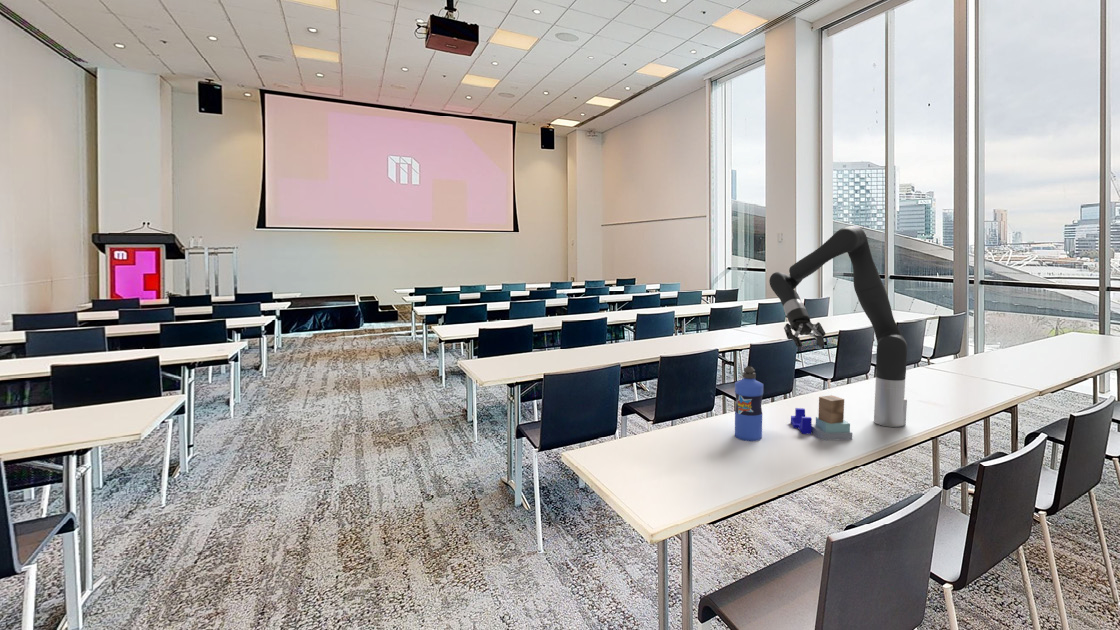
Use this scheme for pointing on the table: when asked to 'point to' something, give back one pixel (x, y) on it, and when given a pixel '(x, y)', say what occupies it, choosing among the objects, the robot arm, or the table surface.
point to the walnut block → (831, 409)
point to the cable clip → (801, 421)
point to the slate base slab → (830, 434)
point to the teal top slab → (833, 426)
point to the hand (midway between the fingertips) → (811, 346)
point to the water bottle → (748, 407)
